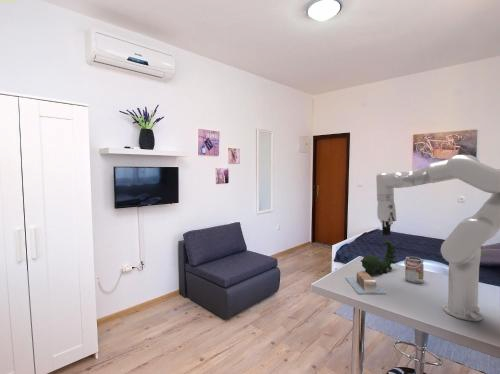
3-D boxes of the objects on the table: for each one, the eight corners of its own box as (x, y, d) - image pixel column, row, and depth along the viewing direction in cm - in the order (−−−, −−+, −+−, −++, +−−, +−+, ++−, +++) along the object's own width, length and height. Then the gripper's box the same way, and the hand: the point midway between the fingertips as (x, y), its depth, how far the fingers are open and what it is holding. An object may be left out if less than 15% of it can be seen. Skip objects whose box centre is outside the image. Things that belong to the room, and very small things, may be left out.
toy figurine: (384, 269, 165) (353, 272, 155) (386, 238, 164) (355, 239, 155) (398, 274, 156) (366, 278, 146) (401, 242, 156) (368, 243, 146)
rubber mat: (386, 294, 128) (386, 292, 128) (358, 294, 128) (358, 293, 128) (369, 278, 148) (369, 276, 148) (345, 278, 148) (345, 277, 148)
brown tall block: (366, 281, 141) (376, 291, 130) (356, 281, 142) (365, 291, 130) (366, 272, 141) (376, 281, 129) (356, 272, 141) (365, 281, 129)
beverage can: (419, 286, 136) (419, 262, 136) (401, 281, 143) (401, 258, 142) (426, 281, 142) (426, 258, 142) (408, 276, 149) (408, 255, 148)
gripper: (401, 198, 126) (402, 237, 127) (385, 196, 141) (386, 231, 142) (385, 199, 126) (386, 238, 127) (371, 197, 141) (372, 232, 142)
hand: (386, 234), depth 134 cm, fingers closed
